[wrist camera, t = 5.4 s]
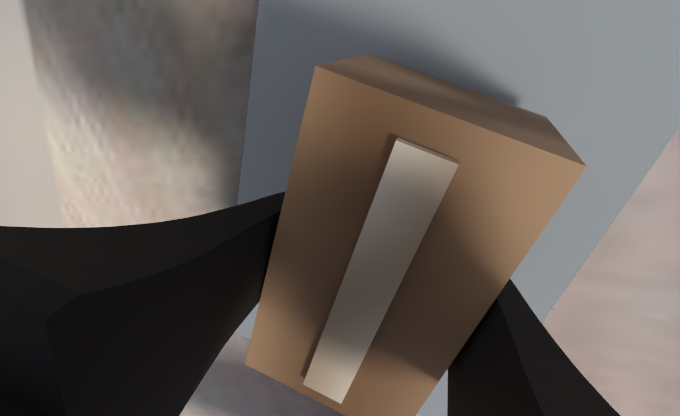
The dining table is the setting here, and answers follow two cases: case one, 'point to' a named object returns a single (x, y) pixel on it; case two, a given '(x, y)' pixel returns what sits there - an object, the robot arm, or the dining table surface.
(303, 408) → the dining table surface
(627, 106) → the rubber mat
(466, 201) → the taped cardboard box
